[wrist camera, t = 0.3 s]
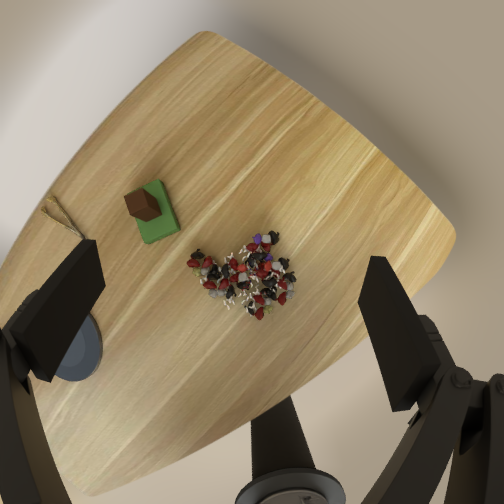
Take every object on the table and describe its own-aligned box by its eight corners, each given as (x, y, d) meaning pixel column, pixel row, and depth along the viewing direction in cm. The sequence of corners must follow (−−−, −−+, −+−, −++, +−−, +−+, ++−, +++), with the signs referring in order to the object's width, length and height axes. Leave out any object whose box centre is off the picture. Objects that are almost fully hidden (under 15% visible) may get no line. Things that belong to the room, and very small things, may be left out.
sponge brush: (180, 230, 52) (165, 221, 42) (148, 244, 52) (127, 239, 42) (162, 182, 52) (145, 164, 42) (132, 196, 52) (109, 182, 42)
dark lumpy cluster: (269, 214, 51) (268, 210, 47) (308, 293, 51) (311, 298, 46) (188, 255, 52) (179, 256, 48) (226, 331, 52) (221, 339, 48)
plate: (116, 367, 50) (113, 369, 49) (56, 387, 50) (53, 389, 48) (82, 285, 51) (78, 285, 50) (26, 313, 50) (22, 313, 49)
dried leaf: (87, 234, 50) (92, 235, 52) (47, 192, 50) (53, 195, 52) (74, 252, 49) (79, 254, 51) (35, 210, 49) (41, 212, 51)
